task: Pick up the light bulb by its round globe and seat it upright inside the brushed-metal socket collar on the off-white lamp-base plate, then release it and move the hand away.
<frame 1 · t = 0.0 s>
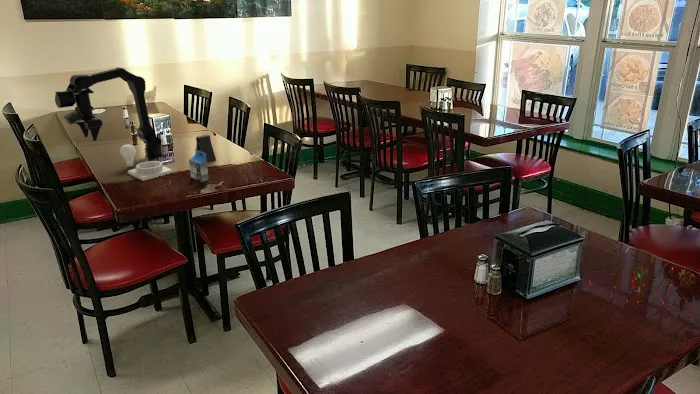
hand: (90, 139, 230), 15 cm above the table, tool pointing down, fingers open, 9 cm apart
phone stand: (205, 160, 249), on the table
socket base: (150, 173, 231), on the table
label tape cartridge: (200, 179, 224), on the table
light bulb: (130, 167, 239), on the table
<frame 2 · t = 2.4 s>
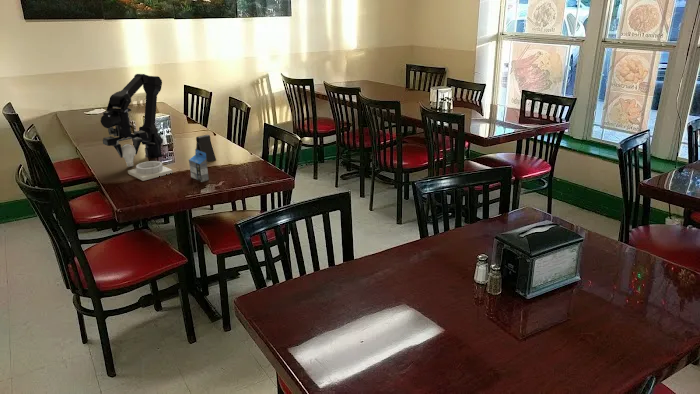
hand: (128, 155, 237), 6 cm above the table, tool pointing down, fingers closed on light bulb, 6 cm apart
light bulb: (130, 167, 239), on the table, touching gripper
everything else where it was.
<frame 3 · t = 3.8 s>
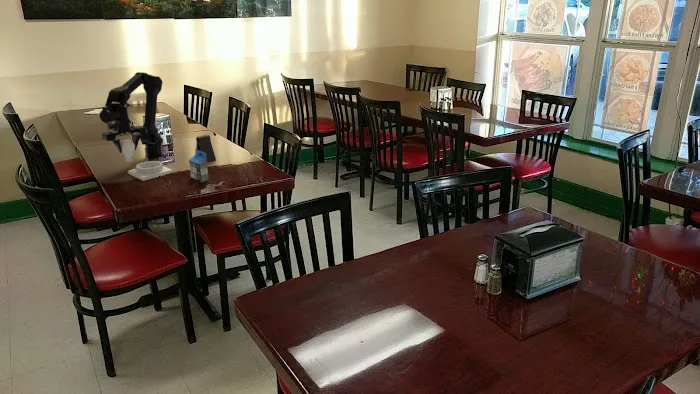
hand: (127, 151, 236), 8 cm above the table, tool pointing down, fingers closed on light bulb, 6 cm apart
light bulb: (130, 163, 238), point 2 cm above the table, touching gripper
everything else where it was.
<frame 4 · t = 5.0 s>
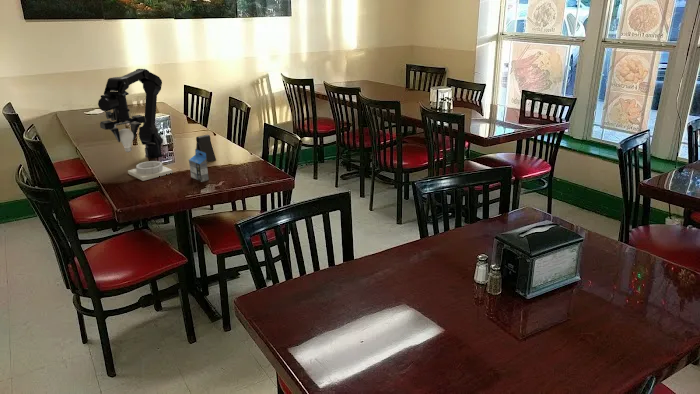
hand: (126, 140, 234), 13 cm above the table, tool pointing down, fingers closed on light bulb, 6 cm apart
light bulb: (128, 152, 236), point 7 cm above the table, touching gripper
everything else where it was.
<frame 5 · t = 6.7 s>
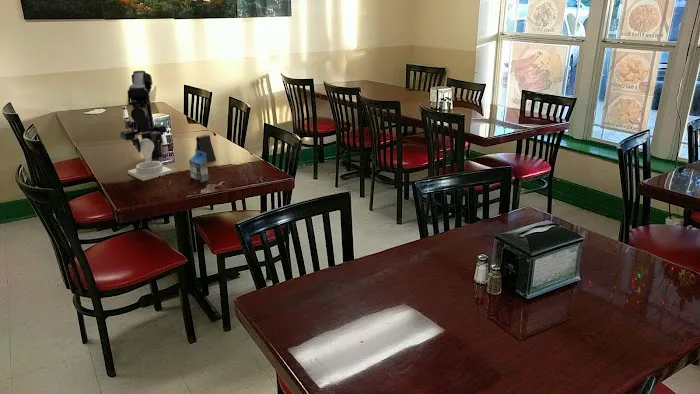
hand: (146, 150, 227), 11 cm above the table, tool pointing down, fingers closed on light bulb, 6 cm apart
light bulb: (148, 163, 229), point 5 cm above the table, touching gripper
everything else where it was.
when the fingers open (9 cm above the table, at t = 7.9 s): light bulb drops 2 cm, resting on socket base.
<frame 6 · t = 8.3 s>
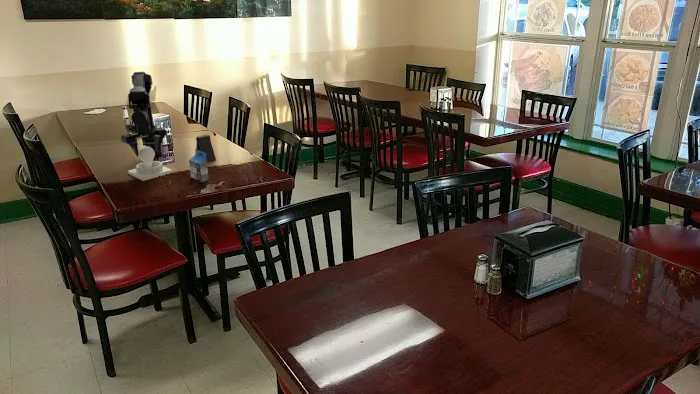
hand: (147, 154, 227), 9 cm above the table, tool pointing down, fingers open, 9 cm apart
light bulb: (149, 170, 230), point 1 cm above the table, touching socket base
everything else where it was.
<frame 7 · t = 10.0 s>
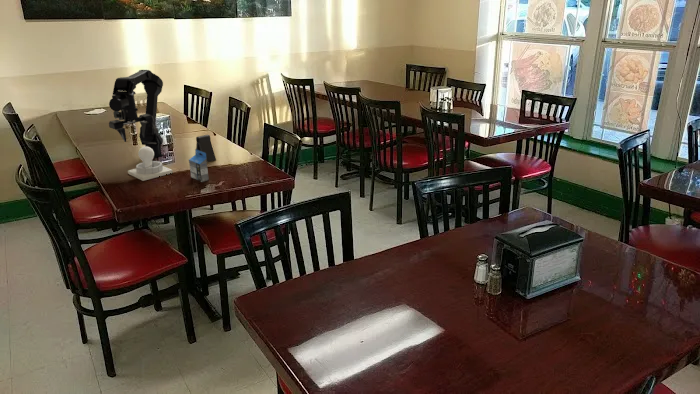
hand: (134, 139, 236), 13 cm above the table, tool pointing down, fingers open, 9 cm apart
nothing on the table moved.
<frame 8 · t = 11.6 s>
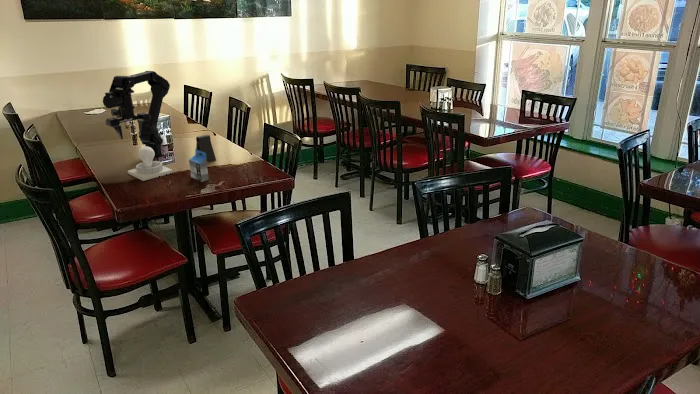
hand: (131, 137, 238), 13 cm above the table, tool pointing down, fingers open, 9 cm apart
nothing on the table moved.
at the end: light bulb 0.3 cm off-centre on the socket base, point 1.3 cm above the socket base's base; light bulb tilted 0°; the gripper is holding nothing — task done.
